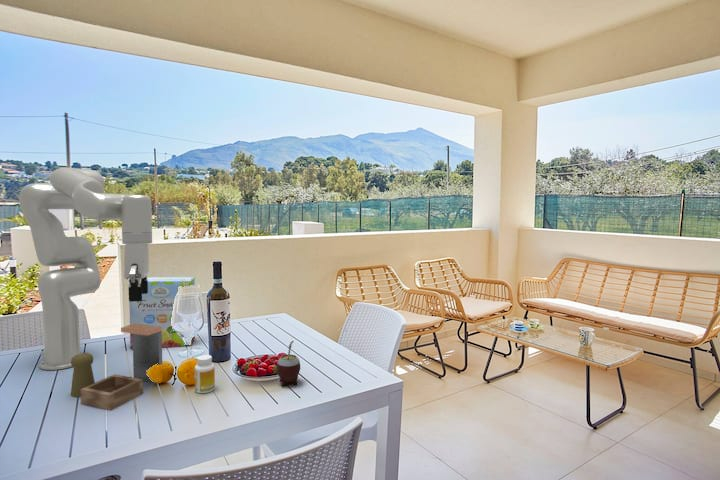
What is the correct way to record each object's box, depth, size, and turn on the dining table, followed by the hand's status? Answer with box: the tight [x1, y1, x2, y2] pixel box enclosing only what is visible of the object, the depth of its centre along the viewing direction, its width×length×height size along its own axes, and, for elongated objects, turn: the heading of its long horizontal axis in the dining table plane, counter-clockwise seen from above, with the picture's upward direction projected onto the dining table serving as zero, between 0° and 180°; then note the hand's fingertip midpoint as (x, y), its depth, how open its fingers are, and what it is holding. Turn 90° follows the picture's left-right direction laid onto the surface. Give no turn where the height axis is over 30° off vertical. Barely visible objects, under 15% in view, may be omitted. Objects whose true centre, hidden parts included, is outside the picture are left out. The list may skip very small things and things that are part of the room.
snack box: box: [128, 276, 196, 350], centre depth 153 cm, size 22×9×26 cm, turn 104°
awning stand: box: [120, 323, 163, 384], centre depth 120 cm, size 10×5×17 cm, turn 72°
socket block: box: [80, 373, 144, 411], centre depth 111 cm, size 10×10×4 cm
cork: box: [70, 352, 96, 398], centre depth 114 cm, size 6×6×11 cm
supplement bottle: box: [194, 354, 216, 394], centre depth 117 cm, size 5×5×10 cm
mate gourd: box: [276, 340, 301, 388], centre depth 121 cm, size 8×8×15 cm
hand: (138, 297), depth 116 cm, fingers open, 9 cm apart
